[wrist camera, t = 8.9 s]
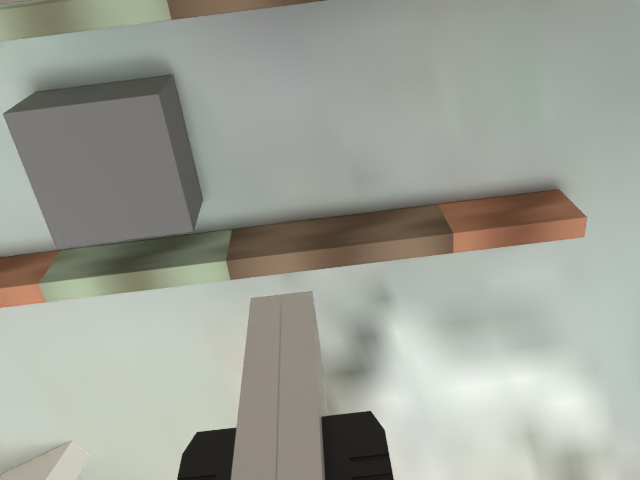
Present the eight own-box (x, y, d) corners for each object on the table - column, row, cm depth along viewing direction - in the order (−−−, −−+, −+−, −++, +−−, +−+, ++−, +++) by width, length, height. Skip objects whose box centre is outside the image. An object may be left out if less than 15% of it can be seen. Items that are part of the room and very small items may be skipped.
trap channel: (586, -71, 26) (646, -70, 22) (556, 208, 33) (597, 251, 29) (-248, 35, 26) (-354, 57, 22) (-102, 288, 34) (-160, 342, 29)
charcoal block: (174, 73, 29) (158, 94, 25) (203, 197, 32) (193, 231, 29) (37, 90, 29) (3, 113, 25) (81, 213, 32) (56, 248, 29)
